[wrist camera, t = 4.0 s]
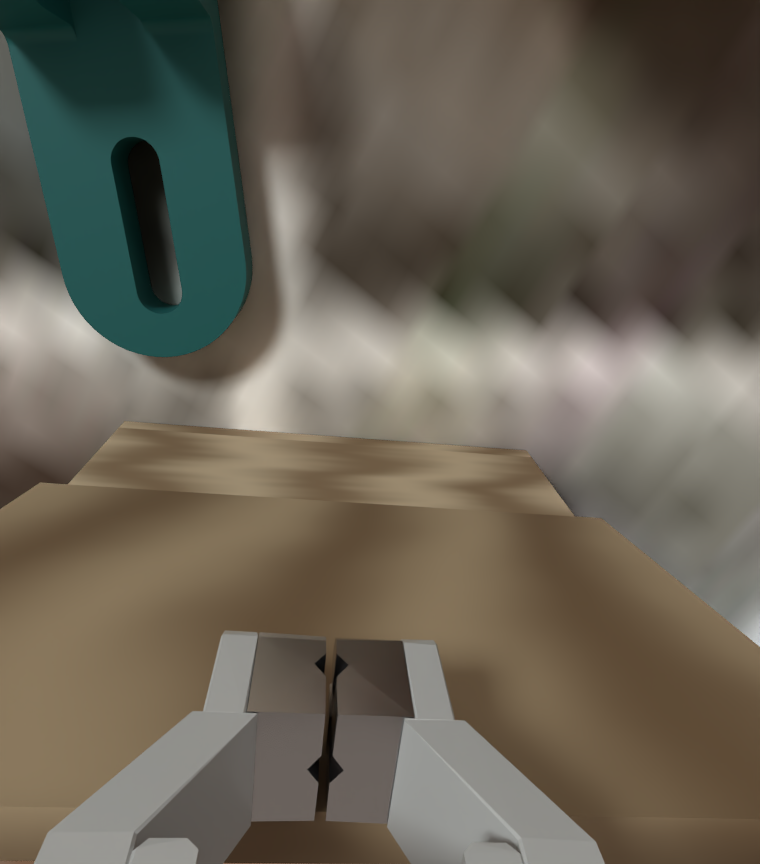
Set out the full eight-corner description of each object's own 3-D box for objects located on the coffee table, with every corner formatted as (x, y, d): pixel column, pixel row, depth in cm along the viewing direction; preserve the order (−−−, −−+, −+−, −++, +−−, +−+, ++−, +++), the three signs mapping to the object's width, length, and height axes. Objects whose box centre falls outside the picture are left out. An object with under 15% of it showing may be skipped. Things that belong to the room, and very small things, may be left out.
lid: (597, 540, 22) (601, 518, 22) (960, 869, 10) (975, 822, 9) (40, 507, 21) (40, 482, 21) (-431, 857, 8) (-441, 799, 8)
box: (526, 450, 30) (589, 536, 23) (482, 677, 35) (523, 812, 27) (124, 421, 28) (49, 504, 21) (132, 664, 33) (73, 804, 25)
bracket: (-20, -193, 21) (-207, -396, 14) (190, -203, 21) (116, -408, 14) (102, 350, 27) (18, 409, 20) (263, 337, 28) (238, 390, 20)
